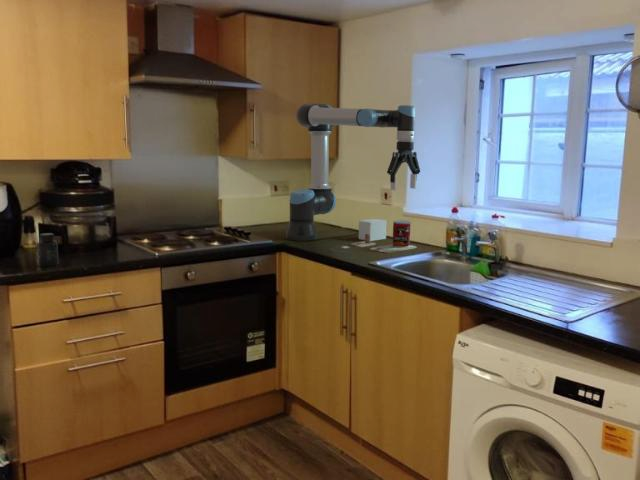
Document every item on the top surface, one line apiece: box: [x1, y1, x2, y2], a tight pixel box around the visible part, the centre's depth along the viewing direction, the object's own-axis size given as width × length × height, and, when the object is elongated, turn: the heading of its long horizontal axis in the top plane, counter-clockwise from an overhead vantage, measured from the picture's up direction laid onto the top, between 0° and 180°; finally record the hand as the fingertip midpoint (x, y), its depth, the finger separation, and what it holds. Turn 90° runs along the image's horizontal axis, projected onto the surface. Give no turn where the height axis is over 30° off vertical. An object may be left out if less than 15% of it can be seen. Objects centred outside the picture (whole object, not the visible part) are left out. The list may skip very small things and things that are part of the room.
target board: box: [370, 243, 417, 254], centre depth 275 cm, size 10×20×1 cm, turn 133°
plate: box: [350, 234, 376, 248], centre depth 282 cm, size 6×10×5 cm, turn 133°
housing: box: [358, 218, 388, 242], centre depth 299 cm, size 8×12×9 cm, turn 133°
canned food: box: [392, 219, 411, 247], centre depth 277 cm, size 8×8×11 cm
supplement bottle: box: [37, 232, 59, 268], centre depth 229 cm, size 7×7×12 cm
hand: (403, 189), depth 273 cm, fingers open, 13 cm apart
